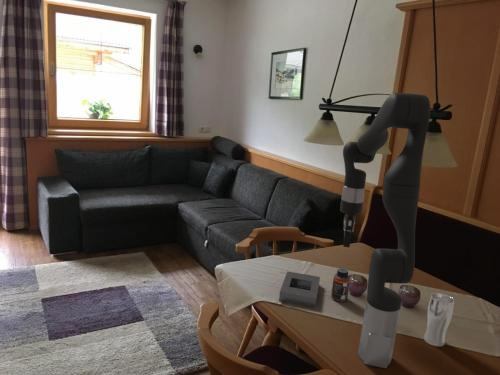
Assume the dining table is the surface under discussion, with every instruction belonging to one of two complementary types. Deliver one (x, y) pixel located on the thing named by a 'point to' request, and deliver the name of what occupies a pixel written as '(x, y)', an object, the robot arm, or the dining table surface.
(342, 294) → the supplement bottle
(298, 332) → the dining table surface
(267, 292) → the dining table surface
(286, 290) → the rack block
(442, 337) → the beer glass
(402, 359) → the dining table surface
